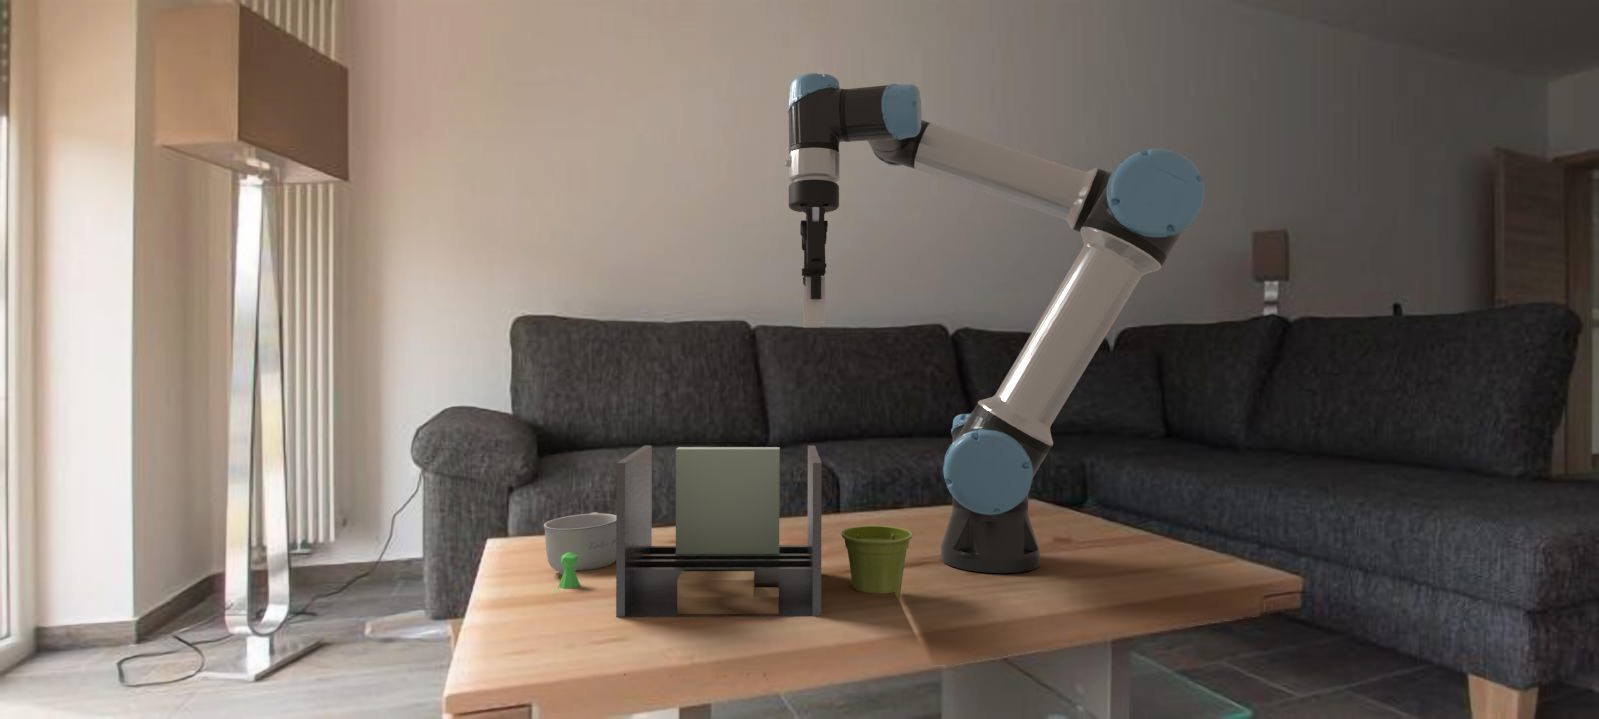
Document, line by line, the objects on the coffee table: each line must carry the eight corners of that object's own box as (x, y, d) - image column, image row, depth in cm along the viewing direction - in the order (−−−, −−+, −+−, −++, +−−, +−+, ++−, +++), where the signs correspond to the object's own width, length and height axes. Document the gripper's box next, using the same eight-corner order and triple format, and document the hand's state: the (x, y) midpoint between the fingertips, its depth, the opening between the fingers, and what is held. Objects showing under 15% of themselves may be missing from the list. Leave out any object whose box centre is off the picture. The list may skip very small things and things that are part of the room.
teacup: (599, 584, 115) (599, 527, 115) (529, 580, 117) (529, 524, 117) (638, 560, 128) (638, 509, 128) (575, 557, 130) (575, 507, 130)
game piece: (547, 595, 109) (548, 550, 109) (579, 590, 112) (579, 546, 112) (558, 603, 106) (558, 557, 106) (590, 598, 108) (590, 553, 108)
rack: (814, 583, 115) (814, 445, 115) (821, 628, 96) (821, 462, 96) (644, 583, 115) (644, 445, 115) (616, 629, 95) (616, 463, 95)
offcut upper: (754, 587, 101) (754, 571, 101) (753, 596, 97) (753, 580, 97) (681, 587, 100) (681, 571, 100) (677, 597, 96) (677, 580, 96)
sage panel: (779, 577, 113) (779, 447, 113) (779, 582, 110) (779, 449, 110) (677, 577, 113) (678, 447, 113) (675, 582, 110) (676, 449, 110)
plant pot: (903, 611, 102) (903, 542, 102) (832, 603, 106) (832, 537, 106) (919, 592, 111) (919, 528, 111) (852, 585, 114) (852, 523, 114)
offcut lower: (778, 603, 101) (778, 587, 101) (778, 613, 97) (778, 596, 97) (681, 603, 100) (681, 587, 100) (677, 614, 96) (677, 597, 96)
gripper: (788, 199, 134) (787, 328, 134) (789, 162, 109) (789, 321, 109) (833, 199, 134) (833, 328, 134) (845, 162, 109) (845, 321, 109)
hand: (813, 325), depth 121 cm, fingers open, 13 cm apart
